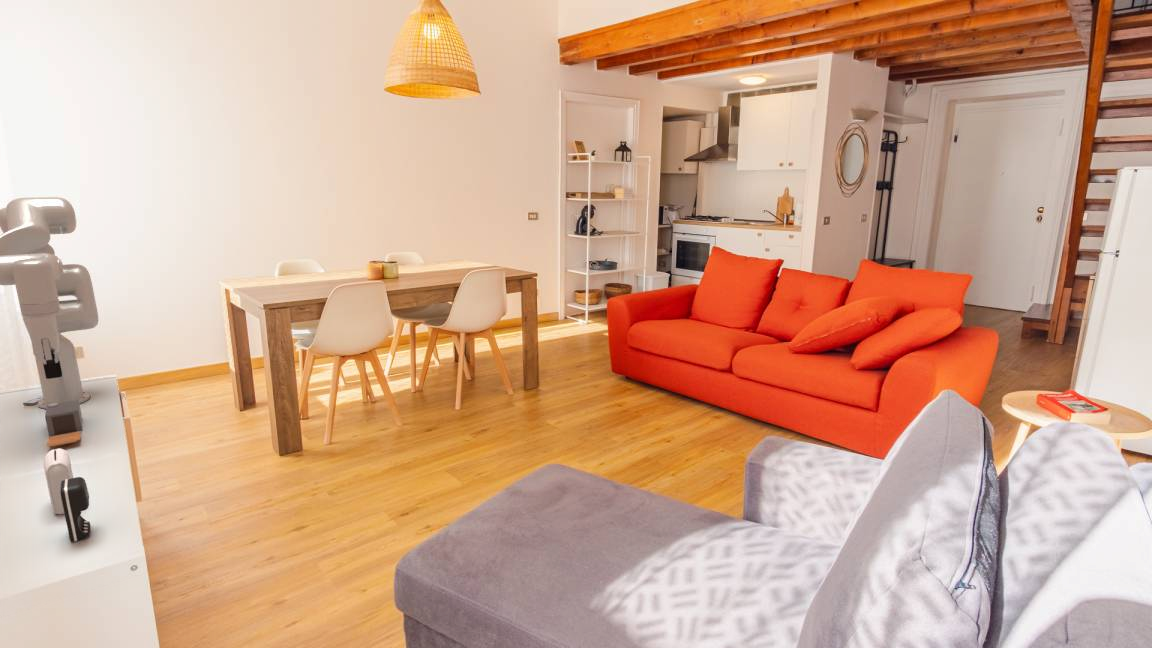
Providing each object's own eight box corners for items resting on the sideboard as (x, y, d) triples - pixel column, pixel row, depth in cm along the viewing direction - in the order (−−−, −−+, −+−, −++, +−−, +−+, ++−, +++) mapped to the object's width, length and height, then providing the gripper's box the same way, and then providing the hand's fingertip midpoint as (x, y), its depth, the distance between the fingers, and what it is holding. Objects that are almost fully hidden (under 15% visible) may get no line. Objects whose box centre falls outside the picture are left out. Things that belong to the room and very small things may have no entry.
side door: (50, 436, 166) (46, 442, 156) (81, 430, 170) (79, 436, 160) (50, 440, 166) (47, 447, 157) (82, 434, 170) (80, 441, 161)
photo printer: (52, 497, 138) (42, 446, 135) (77, 491, 141) (67, 441, 138) (52, 517, 130) (41, 464, 127) (78, 511, 133) (68, 458, 130)
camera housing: (50, 428, 174) (45, 403, 172) (83, 422, 178) (78, 398, 176) (49, 440, 166) (43, 414, 164) (83, 434, 170) (78, 408, 169)
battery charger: (94, 537, 124) (84, 486, 121) (70, 544, 121) (59, 491, 119) (94, 522, 129) (85, 472, 126) (71, 528, 127) (61, 477, 124)
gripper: (22, 303, 159) (36, 371, 163) (18, 316, 147) (33, 389, 152) (60, 300, 163) (73, 366, 168) (59, 312, 152) (72, 383, 157)
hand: (54, 376), depth 160 cm, fingers closed
